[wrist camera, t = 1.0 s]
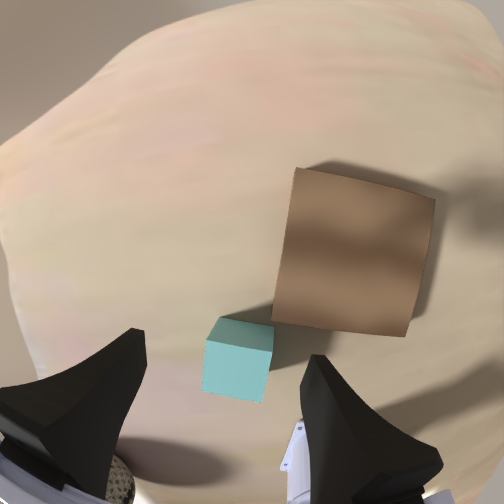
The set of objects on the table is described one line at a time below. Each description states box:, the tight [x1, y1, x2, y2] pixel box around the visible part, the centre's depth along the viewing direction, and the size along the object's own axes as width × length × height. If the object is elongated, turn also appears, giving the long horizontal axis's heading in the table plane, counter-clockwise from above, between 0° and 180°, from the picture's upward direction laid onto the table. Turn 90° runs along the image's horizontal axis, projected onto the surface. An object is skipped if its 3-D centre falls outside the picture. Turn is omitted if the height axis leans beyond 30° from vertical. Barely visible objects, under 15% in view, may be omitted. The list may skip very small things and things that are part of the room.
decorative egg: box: [104, 455, 135, 504], centre depth 23 cm, size 12×12×15 cm
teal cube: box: [201, 317, 274, 403], centre depth 23 cm, size 5×5×5 cm
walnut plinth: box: [271, 167, 435, 337], centre depth 22 cm, size 12×12×2 cm
